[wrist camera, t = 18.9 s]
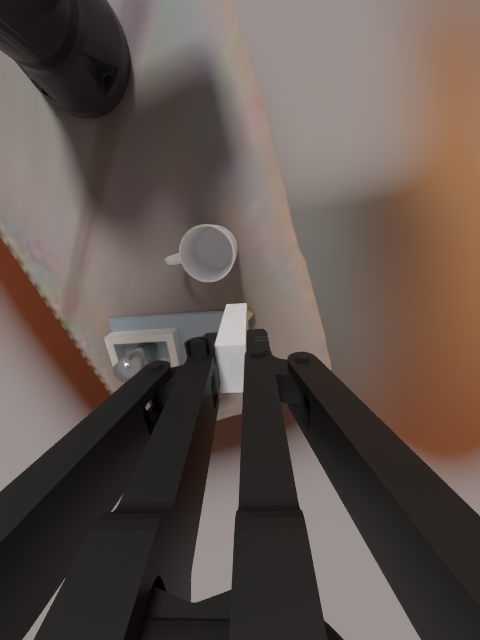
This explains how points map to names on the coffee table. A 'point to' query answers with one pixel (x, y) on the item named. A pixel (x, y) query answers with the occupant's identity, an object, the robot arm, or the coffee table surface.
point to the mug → (206, 252)
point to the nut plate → (160, 334)
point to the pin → (134, 360)
